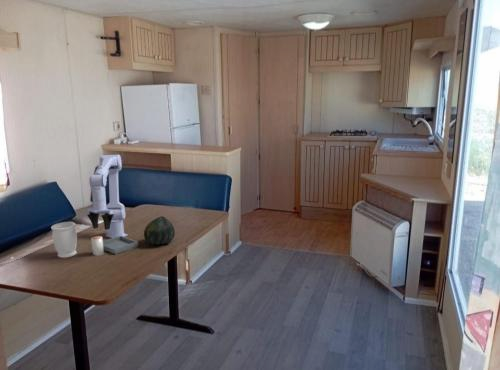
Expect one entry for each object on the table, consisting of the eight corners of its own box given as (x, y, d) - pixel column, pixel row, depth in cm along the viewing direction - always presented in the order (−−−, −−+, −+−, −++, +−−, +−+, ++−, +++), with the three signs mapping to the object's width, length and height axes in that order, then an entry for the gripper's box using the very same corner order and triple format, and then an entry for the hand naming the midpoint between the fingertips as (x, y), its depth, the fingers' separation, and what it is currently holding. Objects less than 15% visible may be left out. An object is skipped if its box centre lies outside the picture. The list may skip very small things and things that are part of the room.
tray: (98, 247, 199) (98, 242, 199) (121, 240, 209) (121, 235, 208) (115, 254, 190) (114, 249, 189) (138, 246, 199) (137, 241, 199)
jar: (83, 251, 194) (80, 222, 191) (68, 260, 185) (63, 229, 181) (66, 249, 198) (62, 220, 194) (50, 257, 188) (45, 227, 185)
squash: (138, 231, 206) (144, 214, 196) (164, 225, 215) (172, 209, 205) (147, 254, 199) (154, 238, 189) (174, 248, 208) (182, 232, 198)
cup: (91, 253, 191) (89, 237, 190) (100, 250, 195) (98, 234, 193) (96, 256, 188) (94, 240, 186) (106, 253, 192) (104, 237, 190)
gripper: (81, 200, 186) (83, 229, 187) (103, 201, 179) (106, 231, 180) (93, 198, 192) (95, 226, 193) (115, 199, 185) (117, 228, 187)
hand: (101, 228), depth 187 cm, fingers open, 7 cm apart
